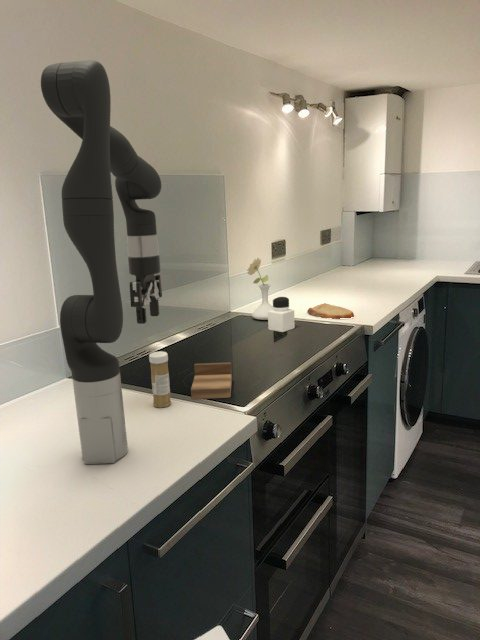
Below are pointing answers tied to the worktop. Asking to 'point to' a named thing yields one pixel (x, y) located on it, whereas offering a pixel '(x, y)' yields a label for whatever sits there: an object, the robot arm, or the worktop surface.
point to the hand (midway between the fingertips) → (148, 319)
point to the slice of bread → (330, 311)
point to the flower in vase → (265, 306)
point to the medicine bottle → (281, 315)
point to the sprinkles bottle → (160, 379)
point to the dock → (212, 381)
